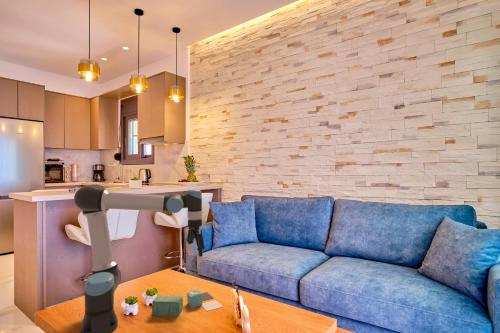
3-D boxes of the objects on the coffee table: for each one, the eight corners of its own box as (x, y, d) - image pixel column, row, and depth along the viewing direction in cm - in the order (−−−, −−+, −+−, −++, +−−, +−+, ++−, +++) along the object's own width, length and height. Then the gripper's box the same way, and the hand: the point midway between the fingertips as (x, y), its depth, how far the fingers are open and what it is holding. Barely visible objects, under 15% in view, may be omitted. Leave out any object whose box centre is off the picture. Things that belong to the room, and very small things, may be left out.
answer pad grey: (206, 311, 147) (206, 310, 147) (200, 304, 154) (200, 303, 154) (222, 307, 151) (222, 306, 151) (215, 300, 159) (215, 299, 159)
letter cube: (191, 308, 150) (190, 296, 150) (187, 303, 156) (186, 292, 155) (202, 304, 154) (201, 292, 153) (198, 300, 159) (197, 288, 159)
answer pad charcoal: (198, 302, 157) (198, 301, 157) (192, 296, 165) (192, 295, 165) (213, 298, 162) (213, 297, 162) (207, 292, 169) (207, 292, 169)
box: (179, 317, 142) (179, 301, 142) (151, 316, 142) (151, 301, 142) (183, 309, 149) (183, 295, 149) (157, 309, 150) (157, 294, 150)
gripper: (210, 221, 146) (211, 263, 146) (193, 215, 168) (193, 252, 167) (196, 223, 142) (197, 266, 142) (180, 216, 164) (181, 254, 164)
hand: (195, 258), depth 155 cm, fingers open, 13 cm apart
